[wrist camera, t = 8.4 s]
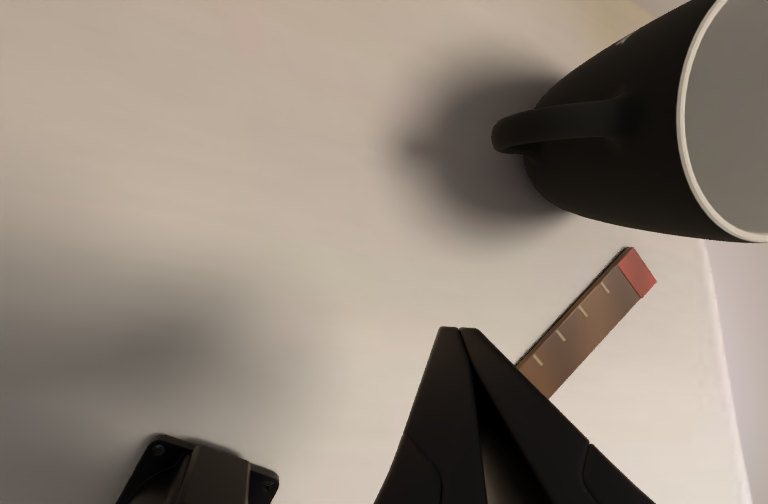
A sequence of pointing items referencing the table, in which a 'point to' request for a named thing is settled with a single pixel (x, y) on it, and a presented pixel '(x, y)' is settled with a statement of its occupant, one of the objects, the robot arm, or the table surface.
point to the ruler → (587, 322)
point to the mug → (660, 127)
